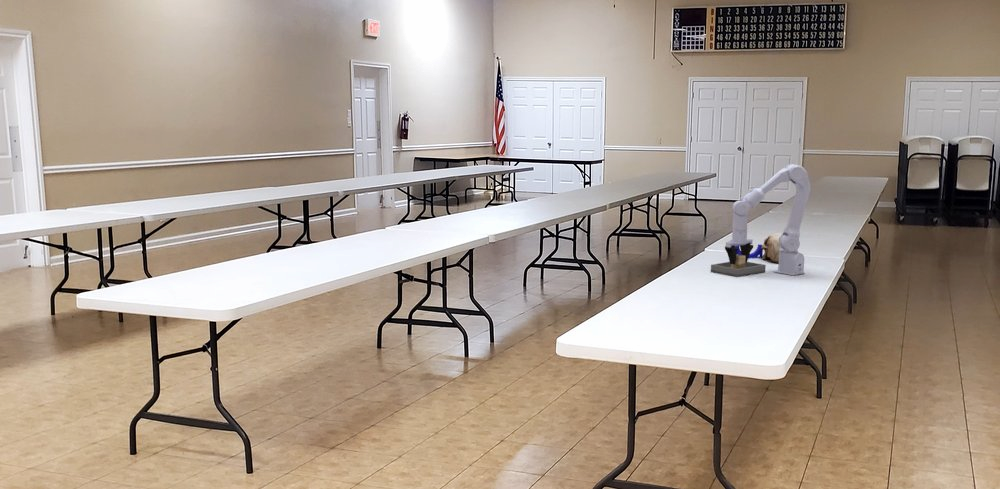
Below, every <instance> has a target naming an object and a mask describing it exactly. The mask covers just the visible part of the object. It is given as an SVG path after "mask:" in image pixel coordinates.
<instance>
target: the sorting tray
mask: <svg viewBox="0 0 1000 489" xmlns="http://www.w3.org/2000/svg"><path fill="white" fill-rule="evenodd" d="M766 268H767V267H766V264H763V263H756V262H751V261H747V262H745V268H741V269H734V268H731V264H730V262H729V261H726V262H720V263H714V264H713V263H712V264H711V265H710V272H711V273H715V274H720V275H726V276H731V277H736V278H739V277H740V278H741V277H745V276H750V275H751V274H752V275H757V274H761V273H765V272H766Z"/></svg>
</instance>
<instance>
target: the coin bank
mask: <svg viewBox="0 0 1000 489" xmlns="http://www.w3.org/2000/svg"><path fill="white" fill-rule="evenodd" d="M782 234H783V232H774V233H771V234H770V235H768V237H767V238H765V239H764V240H763V241H764V242H763V244H762V247H761V249H763V252H764V254H763V256H762V258H761V259H762V260H763V261H772V262H773V263H776V264H779V249H780V248H781V246H780V245H779V238H780V236H781V235H782Z"/></svg>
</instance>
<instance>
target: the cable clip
mask: <svg viewBox="0 0 1000 489" xmlns="http://www.w3.org/2000/svg"><path fill="white" fill-rule="evenodd" d="M762 245H763V244H760V243H759V244H757V247H756V249H755V250H754V251H753V252H750V254H749V257H748V260H749V259H762V257H763V255H764V254H763V252H764V250H763V249H761V247H762ZM735 248H739V249H738V252H737V254H738V255H741V249H740V246H735Z"/></svg>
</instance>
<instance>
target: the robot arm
mask: <svg viewBox="0 0 1000 489" xmlns="http://www.w3.org/2000/svg"><path fill="white" fill-rule="evenodd" d="M808 175H809V174H808V171H807V170H806V169H805V168H804V167H803V166H802V165H799V164H798V165H797V164H794V163H789V164H787V165H785V167H783V168H781V169H780V170H778V172H776V173H775V174H774V175H773V176H772V177H771V178H770V179H768V180H767V181H766V182H765V183H763V185H761V186H760V187H758V188H757V187H754V188H750V189H749V190H748V193H746V194H745V195H744V196H741V197H740V198H739V199H740V200H736V201H735V202H734V203H733V205H732V206H731V209H732V212H733V216H732V217H733V218H732V234H731V235H732V236H731V238H732V239H730V241H726V242H725V246H724V249H725V251H726V253H727V256H728V262H730V264H735V262H736V255H737V252H738V249H739V248H740V251H741V255H744V256H746V258H745V262H748V260H749V259H748V257H749V254H751V253H752V252H751V251H752V250H753V248H754V244H753V239H751V238H748V237H747V236H748V214H749V213H750V211H751V209H753V208H755V207H756V206H757V205H759V203H761V202H762V201H763V200H764V199H765V195H766V194H767V193H769V192H770V191H771V190H772V189H774V188H775V187H777V186H778V185H780V184H781V183H786V182H792V184H793V186H794V187H795V188H796V190H795V194H794V198H793V202H792V205H791V208H790V213H789V216H788V220H787V223H786V226H785V228H784V229H783V231H782V233H783V234H782V235H781V236H780V238H779V245H780V246H781V248H780V249H779V263H778V267H777V268H778V269H777V270H776V269H775V270H773V273H778V274H784V275H788V276H789V275H790V276H796V275H802V274H806V273H805V256H804V254H803V253H801V252H799V248H800V245H801V244H800V242H801V241H800V237H801V232H800V229H801V225H802V221H803V217H804V215H805V209H806V208H807V203H808V199H809V196H810V194H811V188H812V185H811V183H810V178H809V176H808ZM735 246H739V248H735Z"/></svg>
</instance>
